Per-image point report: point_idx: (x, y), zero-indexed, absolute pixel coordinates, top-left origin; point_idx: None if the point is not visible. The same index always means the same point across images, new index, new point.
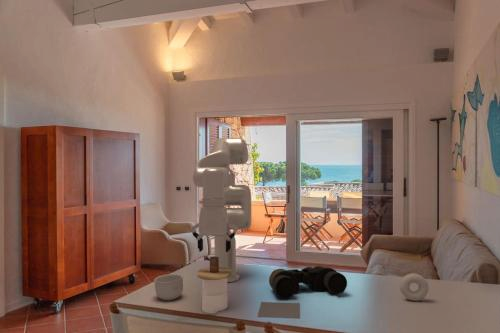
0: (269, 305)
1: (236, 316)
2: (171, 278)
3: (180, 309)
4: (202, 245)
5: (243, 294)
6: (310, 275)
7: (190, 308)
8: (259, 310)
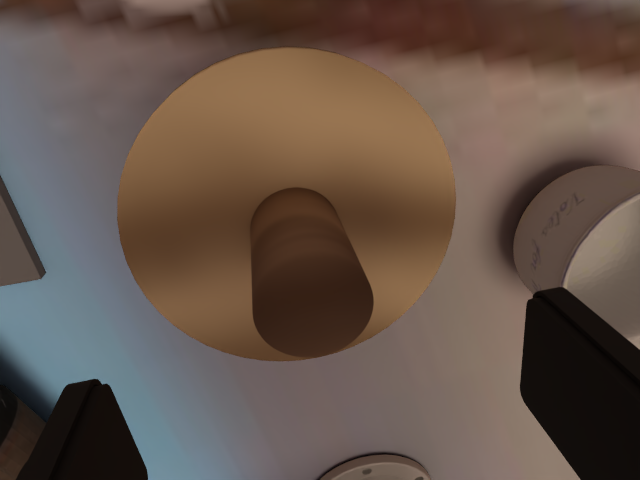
0: None
1: (91, 53)
2: (619, 320)
3: (461, 78)
4: (565, 423)
5: (206, 363)
6: None
7: None
8: None
